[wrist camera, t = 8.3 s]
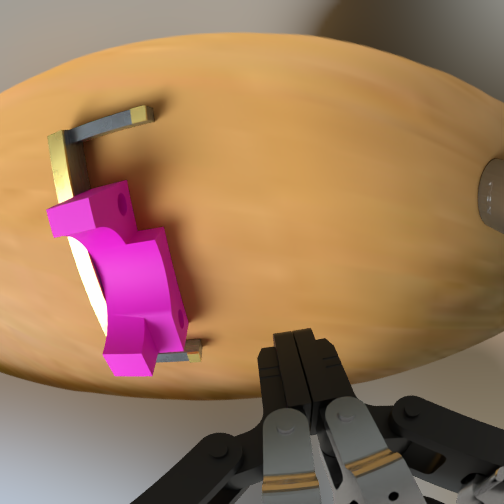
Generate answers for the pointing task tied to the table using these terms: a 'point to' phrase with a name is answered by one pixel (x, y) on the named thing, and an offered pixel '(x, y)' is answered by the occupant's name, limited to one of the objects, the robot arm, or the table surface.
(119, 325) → the toy block
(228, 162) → the table surface
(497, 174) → the robot arm
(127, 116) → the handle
